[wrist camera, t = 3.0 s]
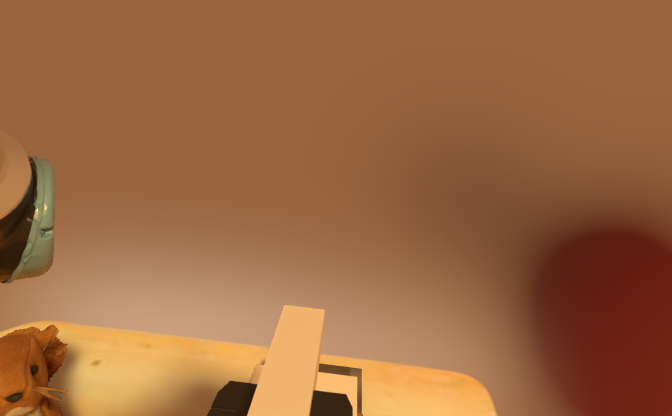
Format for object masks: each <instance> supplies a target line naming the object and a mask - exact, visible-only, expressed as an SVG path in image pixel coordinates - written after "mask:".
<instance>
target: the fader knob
mask: <svg viewBox="0 0 672 416" xmlns="http://www.w3.org/2000/svg"><path fill="white" fill-rule="evenodd" d="M263 367H264V365H259V364H256V366H255V368H254V371H253V374H252V377H251V379H250V382H249V383H252V384H258V382H259V379H260V376H261V373H262V370H263ZM316 390H317V391H325V392H333V393H341V394H346V395H347V397H348V399H349V401H350V403H351V405H352V407H353V416H357V377H354V376H346V375H338V374H330V373H322V372H318V377H317V384H316Z"/></svg>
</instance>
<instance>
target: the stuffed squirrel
mask: <svg viewBox="0 0 672 416" xmlns="http://www.w3.org/2000/svg"><path fill="white" fill-rule="evenodd" d="M58 332H59V330H58V329H57V328H56V327H55V326H54V325H50V326H48V327H47V328H46V329H45V330H43V331H40V330H39V329H38V328H35V327H30V328H27V329H23V330H22V329H19V330H15V331H13V332H12V333H10V334H9V333H8V334H7V335H6V336H4V337H2V338H0V416H63V415H62V413H61V410H60V408H59V407H58V406H57V405H56V403H55V402H54V401H52V400H51V399H54V400H56V401H60V400H61V399H60V398H57V397H55V396H52V395H51V394H50V393H49V392H48V391H59V392H61V393H65V394H66V395H68V393H69V392H68V391H66V390H59V389H54V388H48V387H47V385H48V382H49V381H50V377H53V374H54V373H56V372H57V370H58V368H59V367H60V366H61V365H62V362H63V359H64V358H65V353H66V352H67V348H66V346H67V345H68V344H63V343H62V342H60V341H59V340H60V339H58V338H56V335H57V334H58ZM45 396H46V397H45ZM47 397H48V398H47ZM50 398H51V399H50Z"/></svg>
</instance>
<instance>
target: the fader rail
mask: <svg viewBox="0 0 672 416" xmlns="http://www.w3.org/2000/svg"><path fill="white" fill-rule="evenodd" d="M318 372H322V373H330V374H338V375H346V376H354V377H357V416H363V414H362V369H358V368H350V367H342V366H334V365H326V364H319V370H318Z"/></svg>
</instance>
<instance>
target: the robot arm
mask: <svg viewBox="0 0 672 416" xmlns="http://www.w3.org/2000/svg"><path fill="white" fill-rule="evenodd" d="M54 187H55V181H54V167H53V164H52V163H51V162H50V161H49V160H47V159H39V158H37V157H32V156H31V157H30V156H29V157H27V154H26V152H25V151H24V150H23V148H22V147H21V146H20V145H19V143H17V142H16V141H15V140H14V139H13V138H12V137H10V136H9V135H7V134H6V133H4V132H3V131H1V130H0V282H1V283H10V282H12V281H14V280H17V279H23V278H30V277H36V276H40V275H42V274H44V273H45V272H47V271H48V270H49V269H50V267H51V265H52V262H53V251H54V211H55V196H54V195H55V191H54V190H55V188H54ZM324 314H325V310H323V309H314V308H306V307H298V306H289V305H284V308H283V311H282V314H281V317H280V320H279V323H278V326H277V329H276V332H275V335H274V338H273V341H272V344H271V346H270V349H269V352H268V355H267V358H266V361H265V364H264V367H263V370H262V373H261V376H260V379H259V382H258V384H252V383H244V382H236V381H230V382H229V383H228V384H226V385H225V386H224V387H223V388H222V389H221V390H220V391H219V392H218V393H217V396H216V398H215V400H214V402H213V404H212V407H211V409H210V411H209V413H208V415H207V416H353V407H352V405H351V403H350V401H349V399H348V397H347V395H346V394H341V393H333V392H325V391H317V390H316V384H317V377H318V370H319V361H320V351H321V342H322V332H323V323H324Z"/></svg>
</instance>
